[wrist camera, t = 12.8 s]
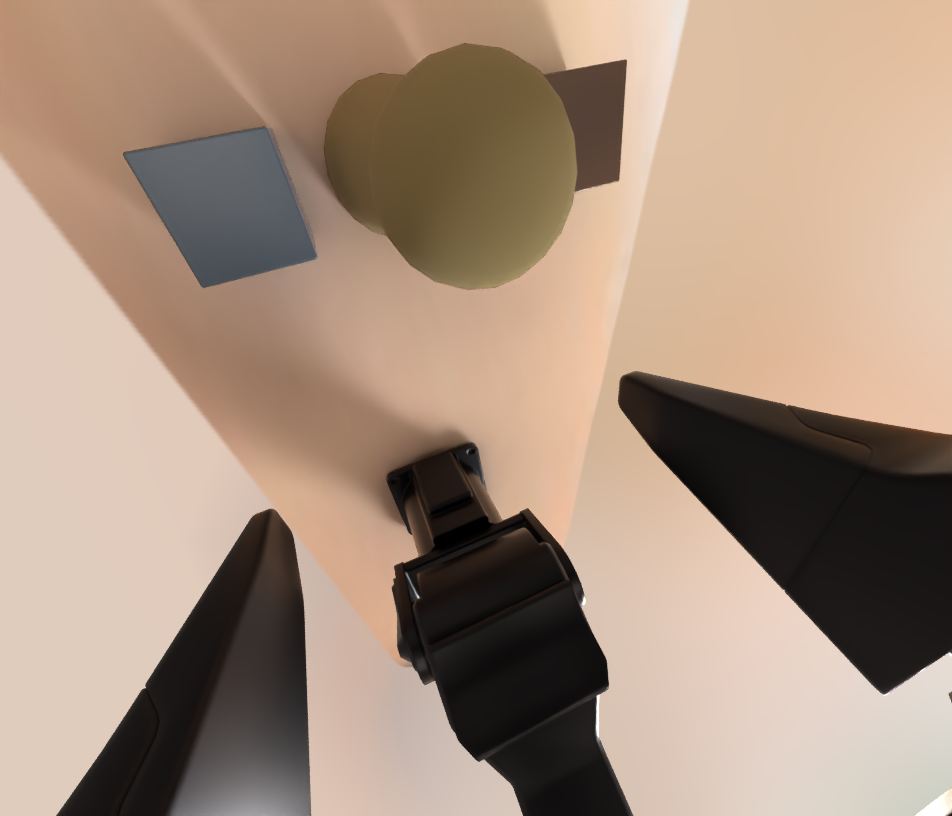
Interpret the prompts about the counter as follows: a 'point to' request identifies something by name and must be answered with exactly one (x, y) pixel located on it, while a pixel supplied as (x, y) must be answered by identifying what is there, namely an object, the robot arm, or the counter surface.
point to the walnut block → (594, 119)
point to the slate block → (227, 203)
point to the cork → (457, 163)
